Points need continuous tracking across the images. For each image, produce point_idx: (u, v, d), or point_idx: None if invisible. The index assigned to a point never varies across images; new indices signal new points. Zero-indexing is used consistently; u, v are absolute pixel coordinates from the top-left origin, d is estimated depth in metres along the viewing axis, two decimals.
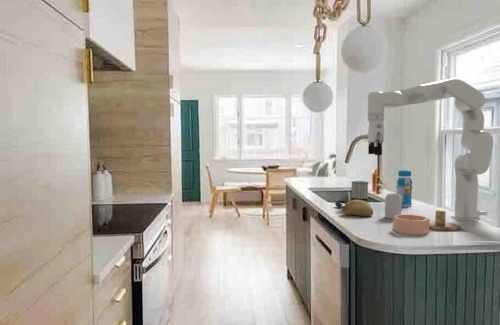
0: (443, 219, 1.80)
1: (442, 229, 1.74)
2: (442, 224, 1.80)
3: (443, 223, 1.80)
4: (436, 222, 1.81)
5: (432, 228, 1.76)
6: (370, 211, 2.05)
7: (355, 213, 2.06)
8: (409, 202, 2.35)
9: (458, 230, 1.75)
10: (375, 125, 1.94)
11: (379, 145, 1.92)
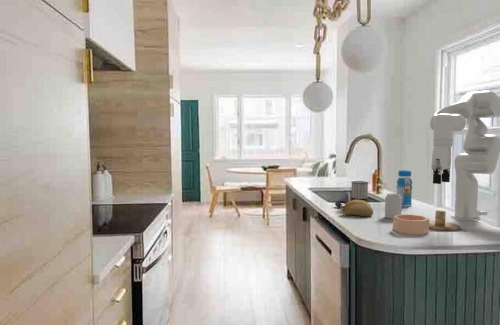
0: (443, 219, 1.80)
1: (442, 229, 1.74)
2: (442, 224, 1.80)
3: (443, 223, 1.80)
4: (436, 222, 1.81)
5: (432, 228, 1.76)
6: (370, 211, 2.05)
7: (355, 213, 2.06)
8: (409, 202, 2.35)
9: (458, 230, 1.75)
10: None
11: None
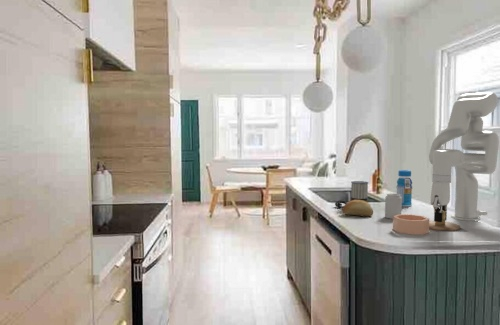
0: (443, 219, 1.80)
1: (442, 229, 1.74)
2: (442, 224, 1.80)
3: (443, 223, 1.80)
4: (436, 222, 1.81)
5: (432, 228, 1.76)
6: (370, 211, 2.05)
7: (355, 213, 2.06)
8: (409, 202, 2.35)
9: (458, 230, 1.75)
10: None
11: None
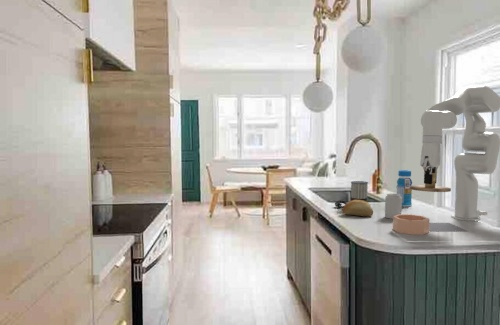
0: (433, 181, 1.75)
1: (432, 190, 1.70)
2: (432, 186, 1.75)
3: (433, 185, 1.76)
4: (426, 184, 1.77)
5: (422, 189, 1.72)
6: (370, 211, 2.05)
7: (355, 213, 2.06)
8: (409, 202, 2.35)
9: (458, 230, 1.75)
10: None
11: None
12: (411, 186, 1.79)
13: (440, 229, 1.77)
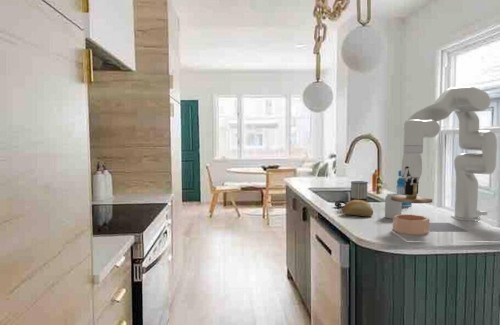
0: (414, 192, 1.71)
1: (412, 201, 1.66)
2: (413, 197, 1.72)
3: (414, 196, 1.72)
4: (407, 195, 1.73)
5: (402, 200, 1.68)
6: (370, 211, 2.05)
7: (355, 213, 2.06)
8: None
9: (458, 230, 1.75)
10: None
11: None
12: (392, 197, 1.75)
13: (440, 229, 1.77)
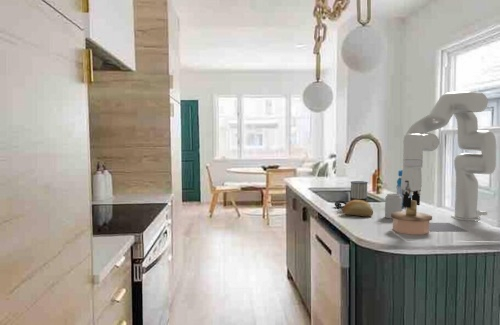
0: (414, 209, 1.72)
1: (412, 219, 1.67)
2: (413, 214, 1.72)
3: (414, 213, 1.72)
4: (407, 212, 1.74)
5: (402, 218, 1.69)
6: (370, 211, 2.05)
7: (355, 213, 2.06)
8: None
9: (458, 230, 1.75)
10: None
11: None
12: (392, 214, 1.76)
13: (440, 229, 1.77)
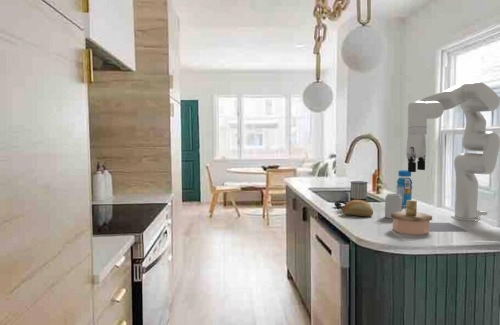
0: (414, 209, 1.72)
1: (412, 219, 1.67)
2: (413, 214, 1.72)
3: (414, 213, 1.72)
4: (407, 212, 1.74)
5: (402, 218, 1.69)
6: (370, 211, 2.05)
7: (355, 213, 2.06)
8: None
9: (458, 230, 1.75)
10: None
11: None
12: (392, 214, 1.76)
13: (440, 229, 1.77)
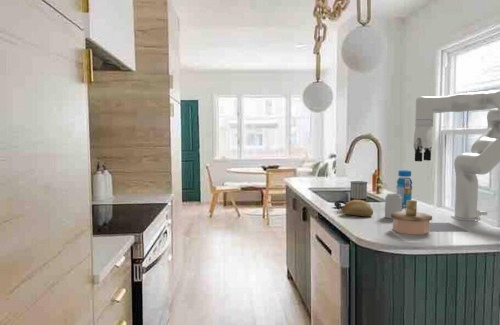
0: (414, 209, 1.72)
1: (412, 219, 1.67)
2: (413, 214, 1.72)
3: (414, 213, 1.72)
4: (407, 212, 1.74)
5: (402, 218, 1.69)
6: (370, 211, 2.05)
7: (355, 213, 2.06)
8: None
9: (458, 230, 1.75)
10: None
11: None
12: (392, 214, 1.76)
13: (440, 229, 1.77)
